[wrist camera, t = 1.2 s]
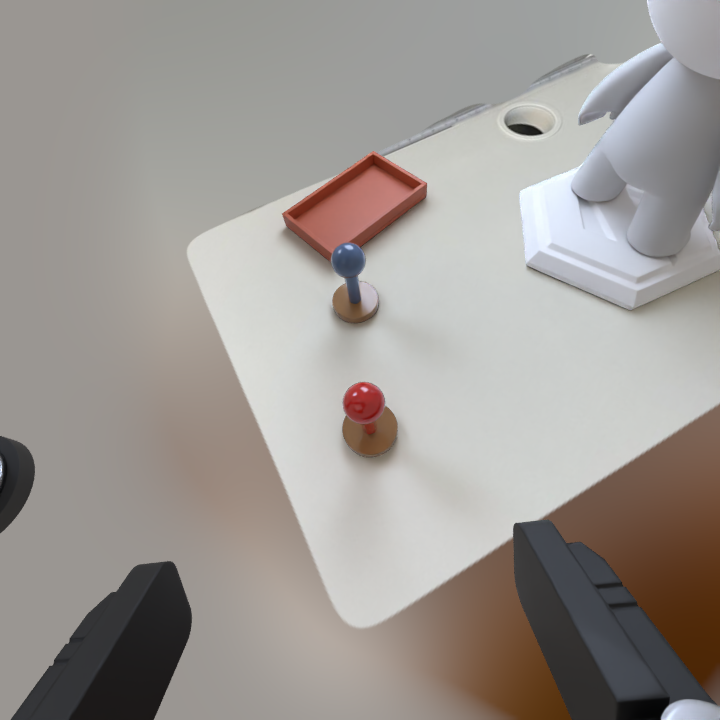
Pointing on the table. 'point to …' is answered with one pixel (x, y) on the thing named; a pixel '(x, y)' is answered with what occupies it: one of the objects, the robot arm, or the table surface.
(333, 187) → the red tray
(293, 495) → the table surface
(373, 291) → the blue joystick
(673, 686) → the robot arm
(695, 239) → the white toy figurine
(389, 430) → the arcade joystick
